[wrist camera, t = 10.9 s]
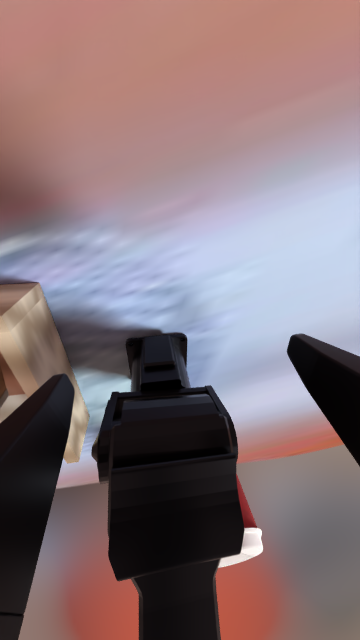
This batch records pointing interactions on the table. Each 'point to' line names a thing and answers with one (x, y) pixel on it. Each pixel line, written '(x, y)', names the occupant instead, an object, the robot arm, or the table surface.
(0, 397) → the walnut block
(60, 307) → the table surface
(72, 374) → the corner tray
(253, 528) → the paper cup
